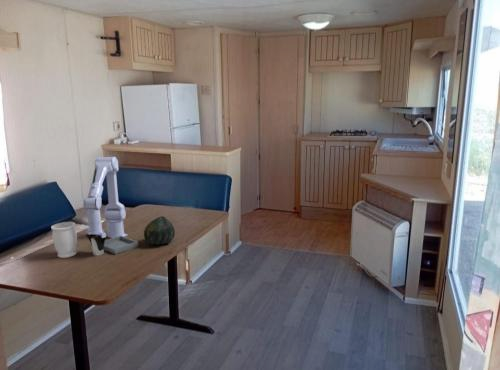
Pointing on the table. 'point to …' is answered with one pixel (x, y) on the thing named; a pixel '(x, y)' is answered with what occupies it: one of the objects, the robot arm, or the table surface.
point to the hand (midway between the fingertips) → (97, 248)
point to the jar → (64, 239)
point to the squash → (159, 231)
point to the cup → (96, 248)
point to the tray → (119, 244)
